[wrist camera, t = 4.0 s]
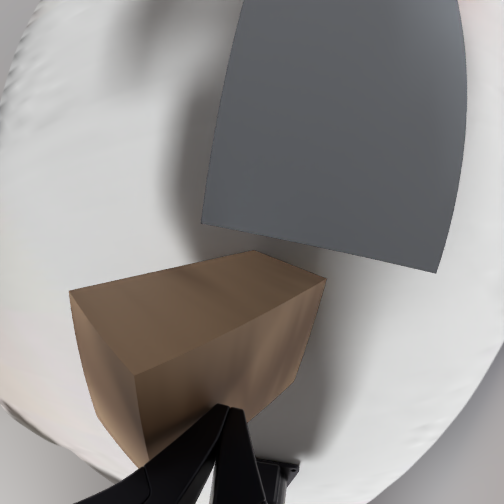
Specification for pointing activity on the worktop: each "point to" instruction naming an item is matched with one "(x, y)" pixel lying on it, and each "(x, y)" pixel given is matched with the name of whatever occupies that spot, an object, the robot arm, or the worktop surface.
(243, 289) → the walnut block
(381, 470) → the worktop surface
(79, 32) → the worktop surface
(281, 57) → the grey block
